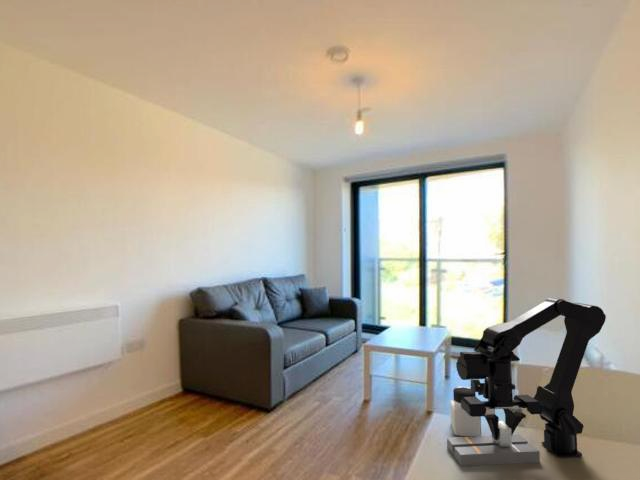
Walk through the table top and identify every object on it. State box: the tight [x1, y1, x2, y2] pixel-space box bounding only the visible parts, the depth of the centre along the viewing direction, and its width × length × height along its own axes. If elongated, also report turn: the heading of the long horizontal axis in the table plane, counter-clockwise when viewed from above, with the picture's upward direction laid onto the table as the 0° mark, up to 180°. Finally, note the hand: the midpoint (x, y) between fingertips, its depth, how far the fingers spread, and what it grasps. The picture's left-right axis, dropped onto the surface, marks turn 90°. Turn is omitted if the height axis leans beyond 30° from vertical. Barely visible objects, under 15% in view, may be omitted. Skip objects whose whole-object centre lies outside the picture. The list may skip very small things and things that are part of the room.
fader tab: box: [491, 420, 512, 447], centre depth 91 cm, size 3×4×6 cm
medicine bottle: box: [449, 386, 482, 437], centre depth 103 cm, size 7×7×12 cm
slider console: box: [446, 434, 541, 467], centre depth 91 cm, size 20×8×3 cm, turn 93°
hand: (501, 438), depth 91 cm, fingers closed on fader tab, 3 cm apart
